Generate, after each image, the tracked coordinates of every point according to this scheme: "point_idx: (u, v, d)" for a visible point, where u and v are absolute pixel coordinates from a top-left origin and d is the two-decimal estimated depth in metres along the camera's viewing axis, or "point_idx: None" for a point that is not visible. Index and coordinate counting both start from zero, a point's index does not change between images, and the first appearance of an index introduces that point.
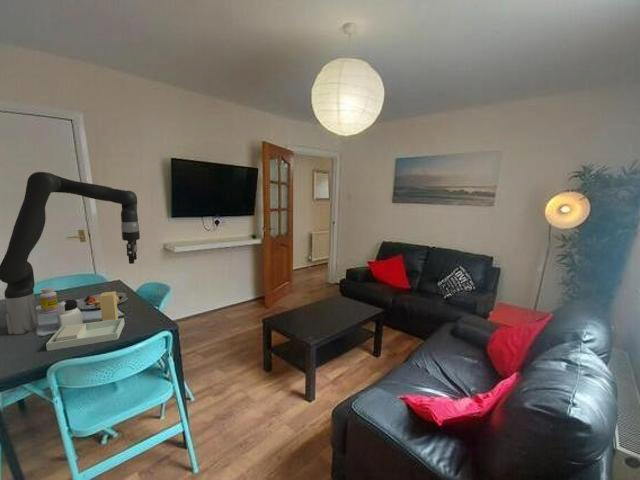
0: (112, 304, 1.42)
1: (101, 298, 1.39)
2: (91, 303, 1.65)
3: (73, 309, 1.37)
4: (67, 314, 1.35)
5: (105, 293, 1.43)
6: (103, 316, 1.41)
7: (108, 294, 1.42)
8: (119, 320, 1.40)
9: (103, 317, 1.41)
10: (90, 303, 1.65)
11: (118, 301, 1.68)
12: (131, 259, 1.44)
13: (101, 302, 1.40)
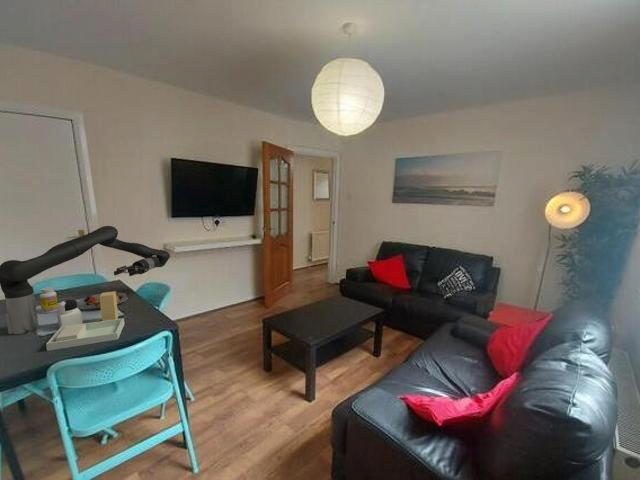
0: (112, 304, 1.42)
1: (101, 298, 1.39)
2: (91, 303, 1.65)
3: (73, 309, 1.37)
4: (67, 314, 1.35)
5: (105, 293, 1.43)
6: (103, 316, 1.41)
7: (108, 294, 1.42)
8: (119, 320, 1.40)
9: (103, 317, 1.41)
10: (90, 303, 1.65)
11: (118, 301, 1.68)
12: (134, 273, 1.53)
13: (101, 302, 1.40)
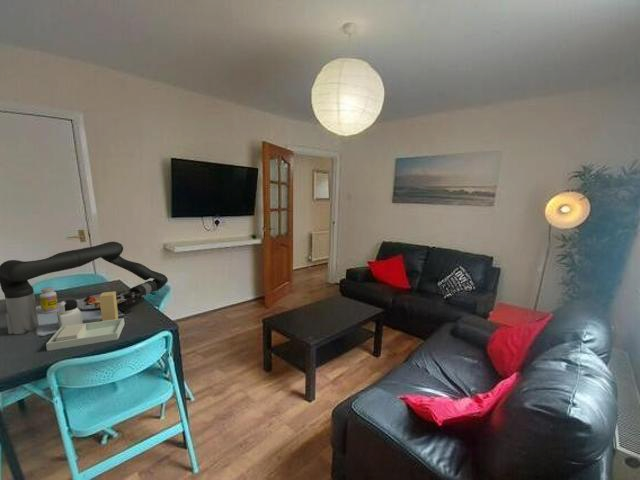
0: (112, 304, 1.42)
1: (101, 298, 1.39)
2: (91, 303, 1.65)
3: (73, 309, 1.37)
4: (67, 314, 1.35)
5: (105, 293, 1.43)
6: (103, 316, 1.41)
7: (108, 294, 1.42)
8: (119, 320, 1.40)
9: (103, 317, 1.41)
10: (90, 303, 1.65)
11: (118, 301, 1.68)
12: (131, 300, 1.52)
13: (101, 302, 1.40)
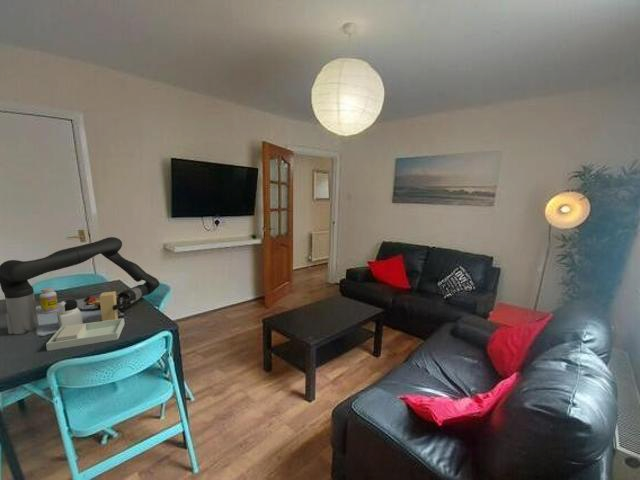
0: (112, 304, 1.42)
1: (101, 298, 1.39)
2: (91, 303, 1.65)
3: (73, 309, 1.37)
4: (67, 314, 1.35)
5: (105, 293, 1.43)
6: (103, 316, 1.41)
7: (108, 294, 1.42)
8: (119, 320, 1.40)
9: (103, 317, 1.41)
10: (90, 303, 1.65)
11: None
12: (118, 306, 1.44)
13: (101, 302, 1.40)
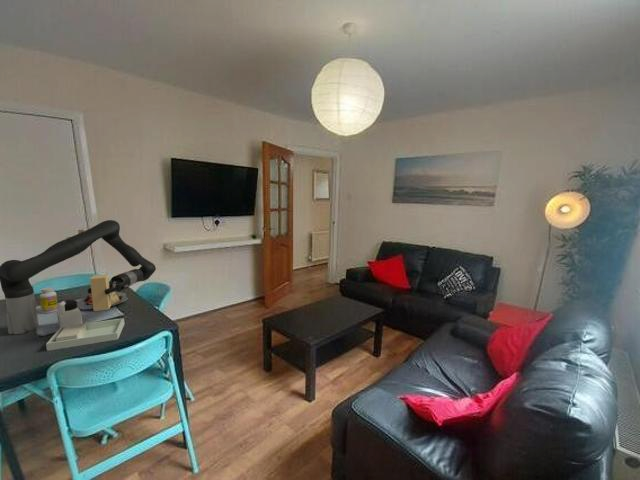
0: (104, 288, 1.29)
1: (92, 281, 1.27)
2: (91, 303, 1.65)
3: (73, 309, 1.37)
4: (67, 314, 1.35)
5: (96, 275, 1.31)
6: (94, 301, 1.28)
7: (99, 276, 1.30)
8: (119, 320, 1.40)
9: (94, 302, 1.28)
10: (90, 303, 1.65)
11: (118, 301, 1.68)
12: (111, 291, 1.31)
13: (92, 285, 1.27)
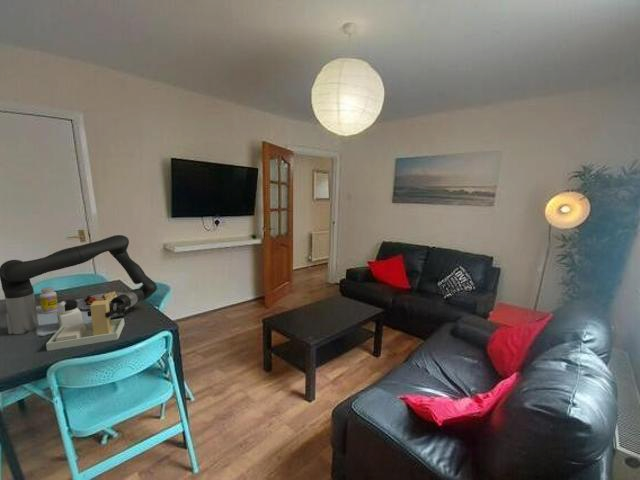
0: (104, 314, 1.28)
1: (92, 308, 1.26)
2: (91, 303, 1.65)
3: (73, 309, 1.37)
4: (67, 314, 1.35)
5: (97, 301, 1.30)
6: (94, 327, 1.28)
7: (100, 303, 1.29)
8: (119, 320, 1.40)
9: (94, 329, 1.28)
10: (90, 303, 1.65)
11: None
12: (112, 314, 1.30)
13: (92, 312, 1.26)
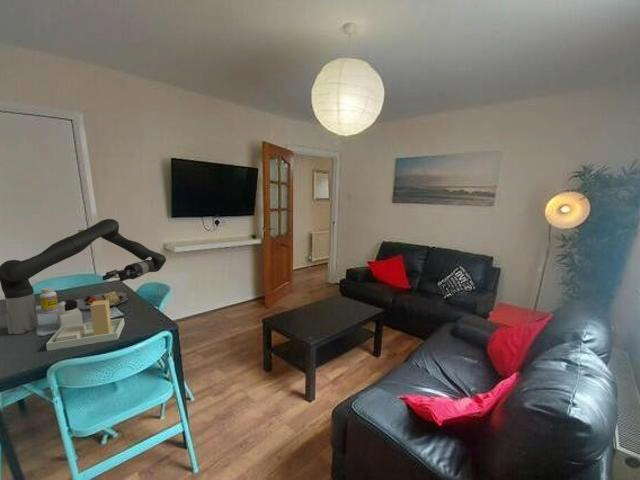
0: (104, 314, 1.28)
1: (92, 308, 1.26)
2: (91, 303, 1.65)
3: (73, 309, 1.37)
4: (67, 314, 1.35)
5: (97, 301, 1.30)
6: (94, 327, 1.28)
7: (100, 303, 1.29)
8: (119, 320, 1.40)
9: (94, 329, 1.28)
10: (90, 303, 1.65)
11: (118, 301, 1.68)
12: (126, 278, 1.37)
13: (92, 312, 1.26)
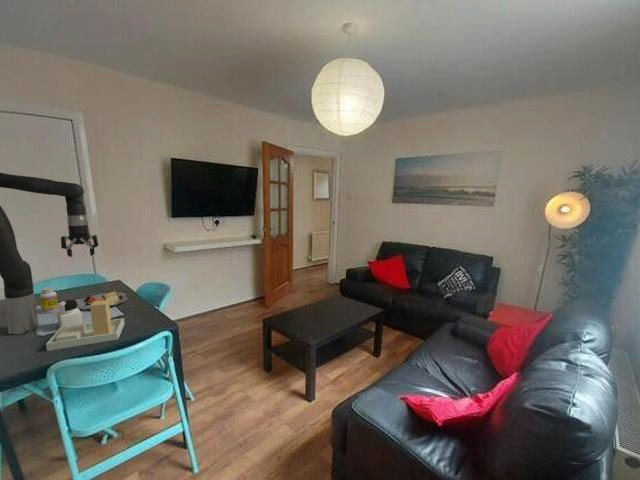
0: (104, 314, 1.28)
1: (92, 308, 1.26)
2: (91, 303, 1.65)
3: (73, 309, 1.37)
4: (67, 314, 1.35)
5: (97, 301, 1.30)
6: (94, 327, 1.28)
7: (100, 303, 1.29)
8: (119, 320, 1.40)
9: (94, 329, 1.28)
10: (90, 303, 1.65)
11: (118, 301, 1.68)
12: (93, 250, 1.48)
13: (92, 312, 1.26)
